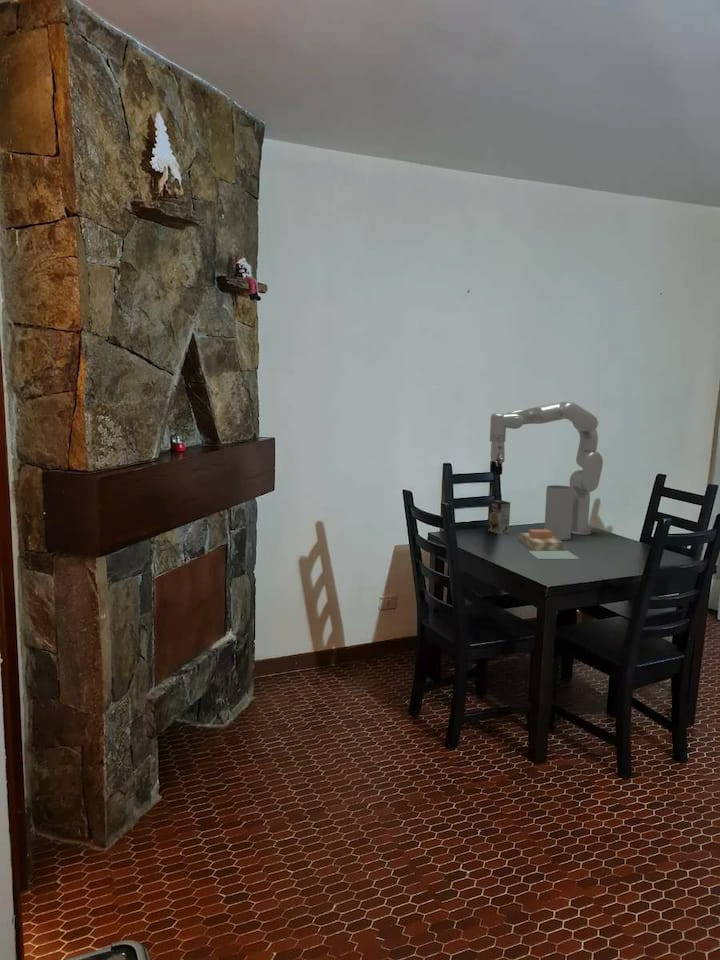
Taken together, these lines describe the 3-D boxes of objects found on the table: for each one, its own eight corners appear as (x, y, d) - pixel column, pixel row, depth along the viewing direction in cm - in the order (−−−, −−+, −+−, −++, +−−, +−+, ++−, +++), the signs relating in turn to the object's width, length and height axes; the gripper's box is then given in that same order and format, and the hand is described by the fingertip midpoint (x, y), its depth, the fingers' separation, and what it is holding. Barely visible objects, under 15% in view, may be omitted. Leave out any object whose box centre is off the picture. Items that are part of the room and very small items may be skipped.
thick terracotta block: (547, 535, 327) (547, 529, 326) (551, 538, 321) (552, 532, 321) (528, 535, 326) (529, 529, 326) (532, 538, 320) (533, 532, 320)
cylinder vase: (576, 539, 337) (579, 488, 334) (554, 541, 333) (557, 489, 329) (559, 534, 349) (562, 484, 345) (538, 536, 344) (541, 485, 341)
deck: (548, 541, 334) (548, 532, 333) (562, 551, 314) (563, 542, 313) (519, 541, 333) (519, 532, 332) (532, 551, 313) (532, 542, 312)
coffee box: (487, 531, 353) (488, 500, 351) (497, 530, 356) (498, 499, 354) (499, 535, 345) (500, 502, 343) (509, 533, 348) (510, 502, 346)
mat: (567, 551, 313) (567, 550, 313) (579, 559, 300) (579, 558, 300) (528, 551, 312) (528, 550, 312) (538, 559, 298) (538, 558, 298)
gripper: (509, 440, 334) (508, 475, 337) (500, 437, 351) (499, 471, 354) (494, 440, 334) (492, 475, 336) (486, 437, 351) (484, 471, 353)
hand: (496, 473), depth 345 cm, fingers open, 9 cm apart
